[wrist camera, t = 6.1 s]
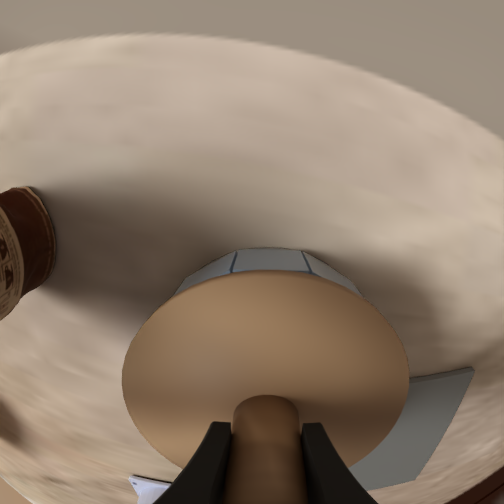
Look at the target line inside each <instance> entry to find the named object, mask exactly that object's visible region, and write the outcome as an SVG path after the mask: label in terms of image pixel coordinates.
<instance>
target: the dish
mask: <svg viewBox="0 0 504 504" xmlns="http://www.w3.org/2000/svg"><path fill="white" fill-rule="evenodd" d="M249 270H287V271H295V272H303V273H307V274H311V275H315V276H318V277H322V278H326V279H328V280H331V281H333V282H336V283H338V284H340V285H343V286H345V287H347V288H348V289H350V290H352V291H354V292H355V293H357V294H359V295H360V296H362V295H361V293H360V292H359V291H358V289H357V288H356V287H355V285H354V284H353V283H352V282H351V280H350V279H348V278H346V277H345V276H343V275H341V274H340V273H338V272H337V271H336V270H335V269H333V268H332V267H331V266H329V265H328V264H326V263H325V262H323V261H321V260H319V259H317V258H315V257H313V256H310V255H309V254H307V253H305V252H304V251H303V252H301V251H300V250H290V249H285V248H274V247H262V248H251V249H239V251H237V250H235V251H233V252H232V253H230V254H227V255H224V256H222V257H220V258H218V259H216V260H213V261H212V262H210V263H208V264H207V265H205V266H204V267H202V268H201V269H200V270H198V271H197V272H195V273H193V274H192V275H190V276H188V277H186V279H184V281H183V282H182V284H181V285H180V286H179V288H178V289H177V291H176V292H175V293H174V295H176V294H178V293H179V292H181V291H183V290H185V289H187V288H188V287H190V286H192V285H194V284H197V283H200V282H202V281H205V280H207V279H210V278H213V277H217V276H221V275H225V274H229V273H233V272H240V271H249ZM174 295H173V296H174ZM173 296H172V297H173ZM362 297H363V296H362ZM363 298H364V297H363Z"/></svg>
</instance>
